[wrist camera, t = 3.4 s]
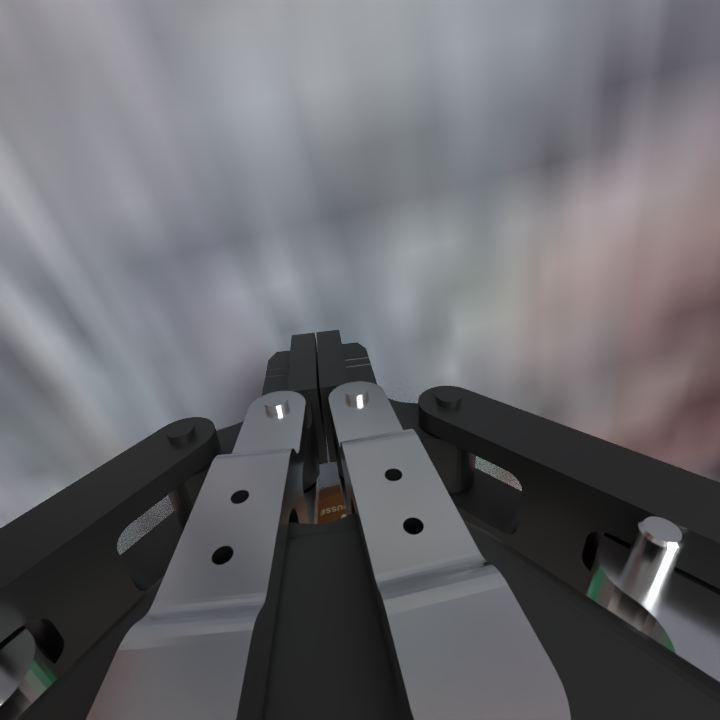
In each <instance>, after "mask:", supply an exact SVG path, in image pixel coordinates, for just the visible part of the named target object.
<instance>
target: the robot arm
mask: <svg viewBox="0 0 720 720" xmlns="http://www.w3.org/2000/svg"><path fill="white" fill-rule="evenodd" d="M317 350H318V352H317ZM325 429H326V431H325ZM326 436H327V443H328V450H329V457H330V462H336V461H337V467H338V475H339V482H340V488H341V493H342V498H343V503H344V507H345V512H346V516H345V517H343V518H340V519H337V520H335V521H332V522H329V523H326V524H317V520H318V504H319V480H318V476H319V464H323V463H328V460H327V445H326ZM476 456H478V457H480V458H482V459H484V460H486V461H488V462H490V463H492V464H495V465H497V466H499V467H501V468H503V469H505V470H507V471H509V472H510V473H512V474H513V475H514V476H515V477H516V478H517V479H518V481H519V482H520V484H521V487H522V491H520V490H518V489H516V488H514V487H512V486H510V485H508V484H506V483H504V482H502V481H500V480H498V479H496V478H494V477H492V476H490V475H488V474H486V473H484V472H482V471H480V470H478V469H476V468H475V460H476ZM167 495H169V497H170V500H171V502H172V505H173V507H174V510H175V511H174V512H173V513H172V514H170V515H169V516H168V517H167V518H165V519H164V520H163V521H162V522H160V523H159V524H158V525H157V526H156V527H154V528H153V529H152V530H151V531H149V532H148V533H147V534H146V535H145V536H143V537H142V538H141V539H140V540H138V541H137V542H136V543H135V544H134V545H132V546H131V547H130V548H129V549H127V550H126V551H125V552H124V553H123V554H121V555H119V553H118V551H117V542H118V539H119V537H120V535H121V533H122V532H123V531H124V529H125V528H126V527H127V526H128V525H129V524H131V523H132V522H133V521H134V520H136V519H137V518H138V517H140V516H141V515H142V514H144V513H145V512H146V511H147V510H149V509H150V508H151V507H153V506H154V505H155V504H157V503H158V502H159V501H160V500H162V499H163V498H164V497H166V496H167ZM0 720H720V483H719V482H716V481H714V480H711V479H708V478H705V477H703V476H700V475H697V474H695V473H692V472H689V471H686V470H684V469H681V468H678V467H676V466H673V465H670V464H667V463H665V462H662V461H659V460H657V459H654V458H651V457H648V456H646V455H643V454H640V453H638V452H635V451H632V450H629V449H627V448H624V447H621V446H618V445H616V444H613V443H610V442H608V441H605V440H602V439H599V438H597V437H594V436H591V435H589V434H586V433H583V432H580V431H578V430H575V429H572V428H570V427H567V426H564V425H561V424H559V423H556V422H553V421H551V420H548V419H545V418H542V417H540V416H537V415H534V414H531V413H529V412H526V411H523V410H521V409H518V408H515V407H512V406H510V405H507V404H504V403H502V402H499V401H496V400H493V399H491V398H488V397H485V396H483V395H480V394H477V393H474V392H472V391H469V390H466V389H463V388H460V387H455V386H439V387H434V388H431V389H428V390H426V391H424V392H423V393H422V394H421V395H420V397H419V400H418V404H417V403H404V402H398V401H394V400H391V399H389V398H387V396H386V394H385V392H384V390H383V389H382V388H381V387H380V386H378V385H377V383H376V379H375V376H374V373H373V370H372V367H371V364H370V360H369V358H368V354H367V351H366V348H364V347H363V346H361V345H360V344H359V343H349V344H342V343H341V338H340V333H339V330H333V331H324V332H317V345H316V338H315V333H307V334H299V335H292V338H291V350H290V351H282V352H276V353H275V354H274V355H273V356H272V357H271V358H270V359H269V361H268V366H267V371H266V378H265V382H264V387H263V392H262V396H261V397H259V398H258V399H256V400H255V401H254V402H253V403H252V404H251V405H250V406H249V408H248V411H247V414H246V416H245V419H244V421H243V422H241V423H238V424H236V425H233V426H230V427H227V428H224V429H221V430H218V431H216V429H215V426H214V424H213V422H212V421H211V420H209V419H206V418H201V417H192V418H186V419H182V420H178V421H175V422H173V423H171V424H168V425H167V426H165V427H163V428H161V429H160V430H158V431H157V432H155V433H153V434H152V435H150V436H149V437H147V438H145V439H144V440H142V441H141V442H139V443H137V444H136V445H134V446H132V447H131V448H129V449H128V450H126V451H124V452H123V453H121V454H120V455H118V456H116V457H115V458H113V459H112V460H110V461H108V462H107V463H105V464H103V465H102V466H100V467H99V468H97V469H95V470H94V471H92V472H91V473H89V474H87V475H86V476H84V477H83V478H81V479H79V480H78V481H76V482H75V483H73V484H71V485H70V486H68V487H66V488H65V489H63V490H62V491H60V492H58V493H57V494H55V495H54V496H52V497H50V498H49V499H47V500H46V501H44V502H42V503H41V504H39V505H38V506H36V507H34V508H33V509H31V510H29V511H28V512H26V513H25V514H23V515H21V516H20V517H18V518H17V519H15V520H13V521H12V522H10V523H9V524H7V525H5V526H4V527H2V528H0Z"/></svg>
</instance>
